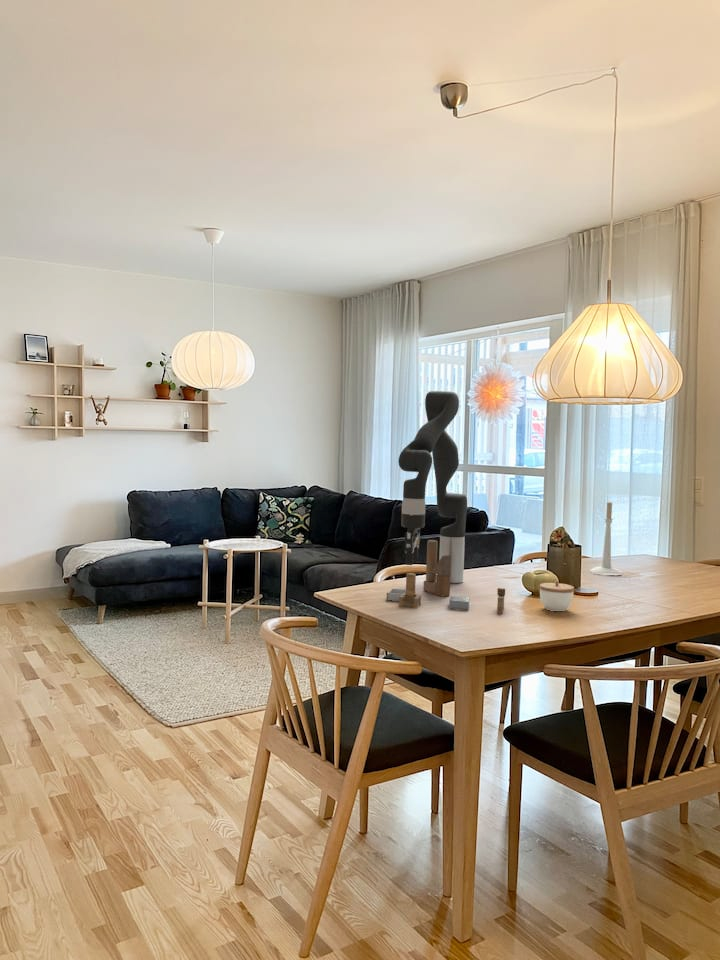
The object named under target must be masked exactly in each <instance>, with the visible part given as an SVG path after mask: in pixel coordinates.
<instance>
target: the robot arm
mask: <svg viewBox="0 0 720 960" xmlns="http://www.w3.org/2000/svg"><path fill="white" fill-rule="evenodd" d="M424 404H425V405H424V407H425V414H426V418H427V422H426V423H424V425H422V426H421V427H420V428H419V430H418V431H417V433H416V435H415V436H414V439H413V440H412V441H410V443H408V444H407V445H406V447H404V448H403V449H402V450H401V452H400V454H399V456H398V466H399V468H400V470H401V471H404V472H406V473H407V472H408V473H409V472H411V473H417V475H416V477H415V478H410V479H406V480H404V482H403V486H402V487H403V490H402V491H403V492H402V494H403V495H402V501H401V502H402V504H401V519H400V521H401V523H400V525H401V527H403V528H406V529H407V532H404V548H403V551H404V553H405V565H406V566H412V565H413V564H414V562H416V561H418V557H419V556H418V555H419V554H418V553H419V551H418V550H419V548H420V543H421V542H420V541H421V529H424V527H425V525H426V522H425V521H426V487H427V481H428V478H429V475H430V474H429V473H430V471H431V469H432V466H433V469H434V475H435V476H434V477H435V487H436V508H437V512H438V515H439V516H440V517H441V518H451V519H455V521H454V522H453V523H451V524H449V525H446V526H443V527H441V528H440V532H439V533H440V535H439V556H438V557H439V558H438V559H439V560H440V559H441V558H442V556H446V555H451V575H450V584H460V583H463V582H464V569H465V568H464V565H465V545H466V544H465V543H466V542H465V540H466V538H465V537H466V522H467V514H468V513H467V511H468V497H467V496H466V494H464V493H454V492H448V491H447V487H448V485H449V483H450V481H451V479H452V478H453V476H454V475H455V473H456V472H457V469H458V467H459V464H460V459H459V458H460V457H459V450H458V446H457V444H456V443H455V440H454V439H453V438H452V437H451V435H449V433H448V432H447V431H446V428H447V427H448V426H449V425H450V424H451V422H452V421H453V420H454V419H455V417H456V415H457V414H458V411H459V407H460V399H459V395H458V394H457V393H456V392H453V391H448V390H447V391H446V390H444V391H443V390H430V391H427V393H426V396H425V399H424ZM432 464H433V465H432ZM439 560H438V561H439Z"/></svg>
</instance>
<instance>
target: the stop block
mask: <svg viewBox="0 0 720 960" xmlns="http://www.w3.org/2000/svg"><path fill="white" fill-rule="evenodd" d="M496 596H497V603H496V604H497V607H496V608H497V609H496V614H497V613H499V615H503V612H504V609H505V596H506V588H505V587H504V588H503V587H497V595H496Z"/></svg>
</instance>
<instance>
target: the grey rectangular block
mask: <svg viewBox="0 0 720 960" xmlns="http://www.w3.org/2000/svg"><path fill="white" fill-rule="evenodd" d="M470 599H471V598H470V597H469V596H457V595H456V596H455V595H454V596H453V595H450V598H449V604H448V605H449V607H448V609H449V608H450V609H449V610H456V609H460V610H459V611H469V610H468V609H469V608H470Z"/></svg>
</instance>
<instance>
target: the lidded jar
mask: <svg viewBox="0 0 720 960" xmlns="http://www.w3.org/2000/svg"><path fill="white" fill-rule="evenodd" d="M574 592H575V587H574V586H573V585H570V584H566V583H560V582H559V580H555V581H554V582H542V583H540V584H539V599H540V602H541V604H542V605H543V607H544V608H545V609H547V611H548V610H550V612H553V611H564V612H566V611H565V610H568V609H569V608H570V606H571V605H572V603H573V601H574V594H575V593H574Z"/></svg>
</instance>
